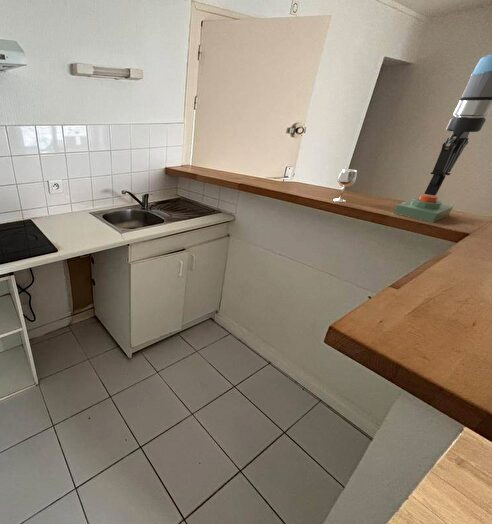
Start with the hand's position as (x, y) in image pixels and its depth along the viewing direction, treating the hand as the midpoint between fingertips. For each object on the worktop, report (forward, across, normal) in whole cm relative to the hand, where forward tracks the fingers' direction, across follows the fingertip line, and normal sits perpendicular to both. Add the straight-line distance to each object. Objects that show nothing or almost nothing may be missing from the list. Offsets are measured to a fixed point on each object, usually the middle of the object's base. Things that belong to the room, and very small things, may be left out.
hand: (430, 194), depth 96 cm
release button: (+3, 0, 0) cm, 3 cm away
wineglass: (+8, +7, -24) cm, 26 cm away
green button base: (+7, 0, 0) cm, 7 cm away
